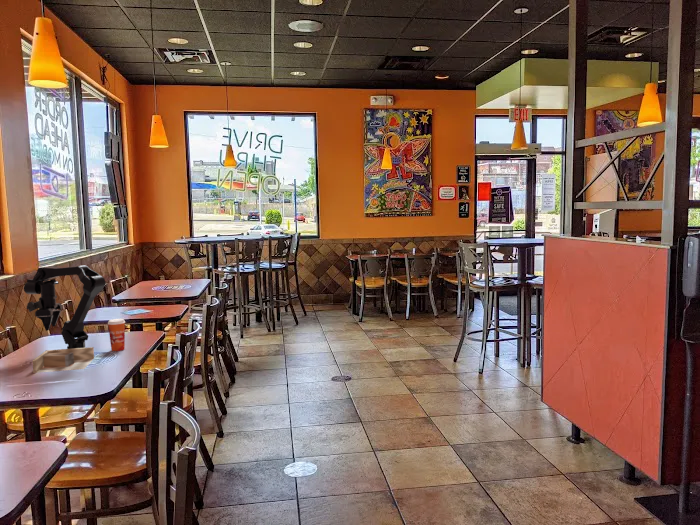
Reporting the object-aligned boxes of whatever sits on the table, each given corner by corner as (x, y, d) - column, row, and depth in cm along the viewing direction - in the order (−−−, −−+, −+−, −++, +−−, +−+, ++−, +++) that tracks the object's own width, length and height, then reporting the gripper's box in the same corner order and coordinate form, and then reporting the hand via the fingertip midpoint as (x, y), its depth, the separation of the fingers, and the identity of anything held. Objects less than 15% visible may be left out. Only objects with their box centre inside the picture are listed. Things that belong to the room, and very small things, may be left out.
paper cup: (109, 352, 244) (107, 322, 243) (108, 348, 251) (106, 319, 249) (128, 350, 247) (126, 320, 246) (126, 346, 254) (124, 317, 253)
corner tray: (94, 359, 232) (93, 347, 232) (84, 370, 216) (83, 357, 215) (47, 362, 228) (46, 350, 228) (33, 374, 212) (32, 360, 211)
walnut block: (50, 363, 224) (49, 353, 224) (74, 363, 224) (73, 352, 224) (44, 367, 220) (43, 356, 219) (68, 366, 220) (67, 355, 219)
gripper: (35, 292, 247) (37, 325, 249) (20, 298, 229) (23, 334, 231) (61, 291, 250) (63, 323, 251) (49, 297, 232) (51, 332, 233)
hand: (50, 328), depth 242 cm, fingers open, 9 cm apart
